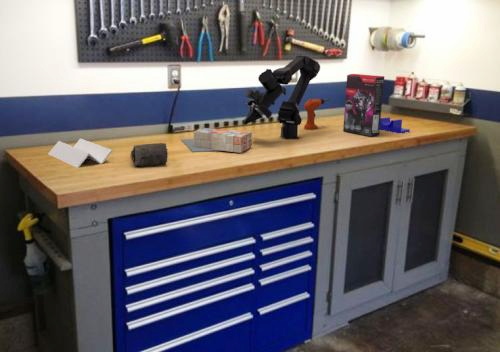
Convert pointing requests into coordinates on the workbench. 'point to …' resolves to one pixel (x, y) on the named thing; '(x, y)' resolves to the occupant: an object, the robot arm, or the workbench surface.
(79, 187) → the workbench surface
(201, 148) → the mat
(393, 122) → the mounting bracket
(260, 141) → the workbench surface
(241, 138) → the stack of blocks
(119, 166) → the workbench surface
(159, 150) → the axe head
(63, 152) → the z bracket
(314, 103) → the toy drill
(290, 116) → the robot arm
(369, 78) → the graphics card box
